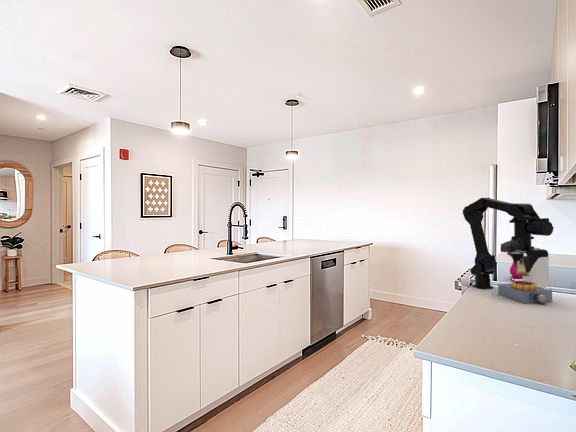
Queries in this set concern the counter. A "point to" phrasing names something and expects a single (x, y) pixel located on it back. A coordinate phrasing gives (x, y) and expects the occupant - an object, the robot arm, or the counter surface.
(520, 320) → the counter surface
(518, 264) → the beige cylinder
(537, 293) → the gearbox
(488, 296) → the counter surface
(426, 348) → the counter surface
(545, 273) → the milk carton
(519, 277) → the pepper mill
